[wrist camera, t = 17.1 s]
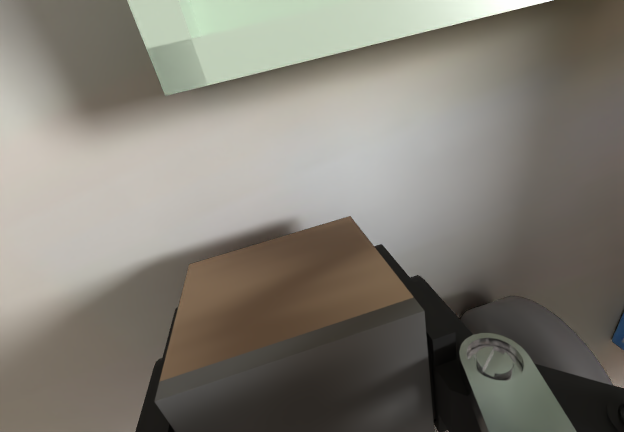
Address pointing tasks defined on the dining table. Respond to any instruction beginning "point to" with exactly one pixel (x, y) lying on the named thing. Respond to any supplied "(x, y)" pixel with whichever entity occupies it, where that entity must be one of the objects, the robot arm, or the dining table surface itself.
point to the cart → (537, 335)
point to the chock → (298, 341)
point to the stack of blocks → (619, 334)
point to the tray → (282, 32)
